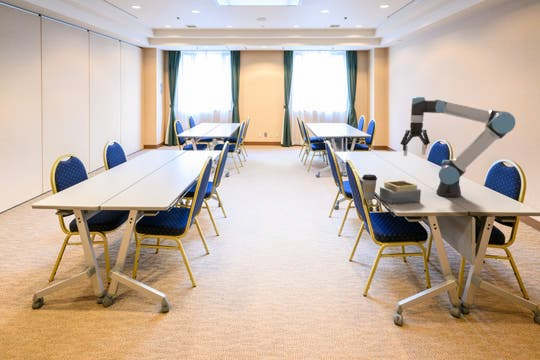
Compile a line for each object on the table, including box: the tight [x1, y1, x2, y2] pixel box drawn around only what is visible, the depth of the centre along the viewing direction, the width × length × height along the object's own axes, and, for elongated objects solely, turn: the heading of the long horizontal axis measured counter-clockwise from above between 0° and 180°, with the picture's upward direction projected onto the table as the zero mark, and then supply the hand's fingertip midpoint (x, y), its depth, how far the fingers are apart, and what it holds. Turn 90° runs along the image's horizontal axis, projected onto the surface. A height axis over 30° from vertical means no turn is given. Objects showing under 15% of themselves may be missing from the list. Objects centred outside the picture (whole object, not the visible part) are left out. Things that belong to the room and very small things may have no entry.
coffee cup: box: [361, 174, 378, 201], centre depth 276 cm, size 9×9×15 cm
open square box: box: [378, 180, 422, 206], centre depth 272 cm, size 20×14×11 cm
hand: (414, 155), depth 280 cm, fingers open, 13 cm apart
